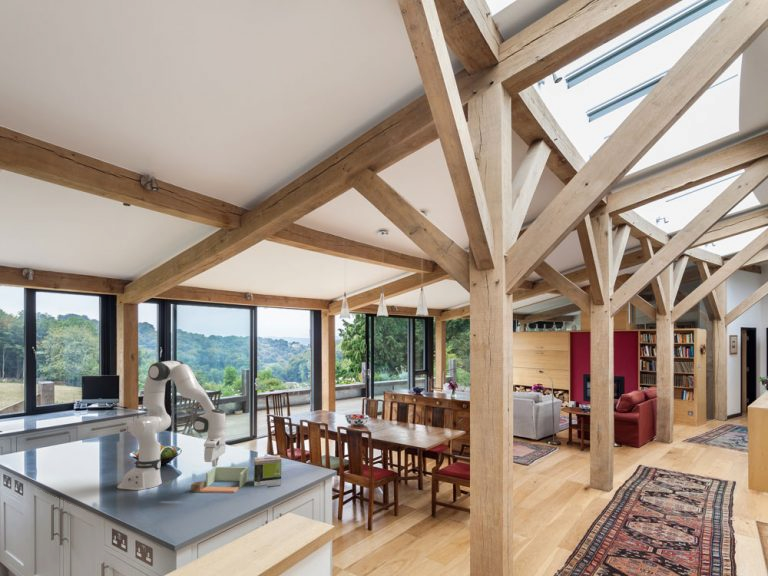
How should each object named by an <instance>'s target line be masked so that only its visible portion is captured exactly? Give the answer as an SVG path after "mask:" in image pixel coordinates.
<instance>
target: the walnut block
mask: <svg viewBox="0 0 768 576" xmlns="http://www.w3.org/2000/svg"><path fill="white" fill-rule="evenodd" d="M203 488H205V482H204V481H194V482H193V483H191V484H190V493H201V492H200V490H202V489H203Z"/></svg>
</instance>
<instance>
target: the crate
mask: <svg viewBox="0 0 768 576" xmlns="http://www.w3.org/2000/svg"><path fill="white" fill-rule="evenodd" d="M249 468H250V467H248V466H244V467H243V466H215V467H213V468H211V469H210V470H209V471H207V472H206V474H205V475H206V476H205V487H210V486H211V485H212V484H213V483H215V482H216V481H219V482H220V481H225V482H226V481H228V482H229V481H230V482H231V481H233V482H237V481H239V485H238V487H239V488H242V487H243V486H244V485H245V484H246V483H247V482H248V481H249V473H250V472H249V471H250V469H249Z"/></svg>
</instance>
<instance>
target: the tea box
mask: <svg viewBox="0 0 768 576" xmlns="http://www.w3.org/2000/svg"><path fill="white" fill-rule="evenodd" d="M253 485H254V487H259V486H260V487H261V486H267V487H276V486H281V485H282V458H281V455H280V454H279V455H278V454H277V455H276V454H275V455H268V456H256V457H255V456H254V458H253Z"/></svg>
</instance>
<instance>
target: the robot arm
mask: <svg viewBox="0 0 768 576" xmlns="http://www.w3.org/2000/svg"><path fill="white" fill-rule="evenodd" d="M148 368H149V369H148V371H147V372H148V373H147V374H148V375H147V376H146V379H145V383H144V388H143V397H142V398H143V399H142V406H143V407H144V408H146V409H147V415H146V416H145V415H144V416H141V417H139V418H136V419H135V420H134V421H132V423H131V424H130V427H129V428H130V429H129V431H130V434H131V436H133V437H135V438H136V441H137V444H138V459H137V460H136V461H134V462H133V465H134V467H133V468H132V469H130V470H129V471H127V472H126V473H125V474H124V475H123V478H122V482H120V483H119V484H117V489H119V490H132V491H142V490H145V489H151V488H154V487H158V486H161V484H162V483H163V481H162V477H161V475H162V474H161V464H162V463H161V462H162V457H161V449H162V445H161V443H160V442H159V441H158V440H157V439H156V434H158V433H162V432H164V431H166V430H167V429H168V428H170V426H171V424H172V417H171V416H170V415H169V414H168V413H167V410H166V406H165V395H166V384H167V382H168V381H170V380H171V381H173V383H174V385H175V387H176V390H177V392H178V394H179V395H180V396H181V397H182V398H184V399H190V400H193V401H196V402H197V403H199V404H200V406H201V408H203V409H202V410H204V414H203V413H202V414H200V415H198V416H196V417H195V418H194V420H193V421H192V428H193V429H194V432H196V433H198V434H204V433H207V438H206V440H205V441H204V443H203V447H204V449H203V450H204V451H203V452H204V453H203V455H204V457H203V458H204V462H206V463H211V467H213V468H214V467H218V464H219V459H220V456H222V455H223V454H225V453H226V447H227V446H226V431H225V428H226V420H227V419H226V418H227V416H226V412H225V411H224V410H223V409H220V408H219V409H218V408H217V407H216V405H215V403H214V402H213V400H212V398H211V397H210V395H209V394H208V392H207V391H206V390H205V389H204V387H202V386H201V385H200V382H199V381H198V380H197V378H196V376H195V373H194V372H193V370H192V369H191V367H190V366H189V365H188V364H186V363H185V362H183V361H180V360H166V361H157V362H155V363H152V364H151V365H150V366H149V367H148Z"/></svg>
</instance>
